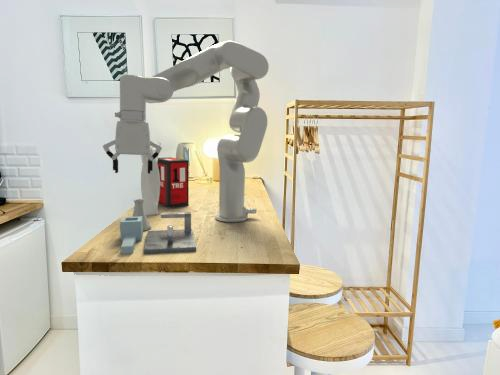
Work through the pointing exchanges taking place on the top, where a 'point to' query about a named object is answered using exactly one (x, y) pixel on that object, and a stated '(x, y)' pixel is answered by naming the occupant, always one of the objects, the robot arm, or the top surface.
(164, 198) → the cleaning product box
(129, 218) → the link
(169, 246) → the base
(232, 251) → the top surface
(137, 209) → the flask
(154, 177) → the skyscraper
